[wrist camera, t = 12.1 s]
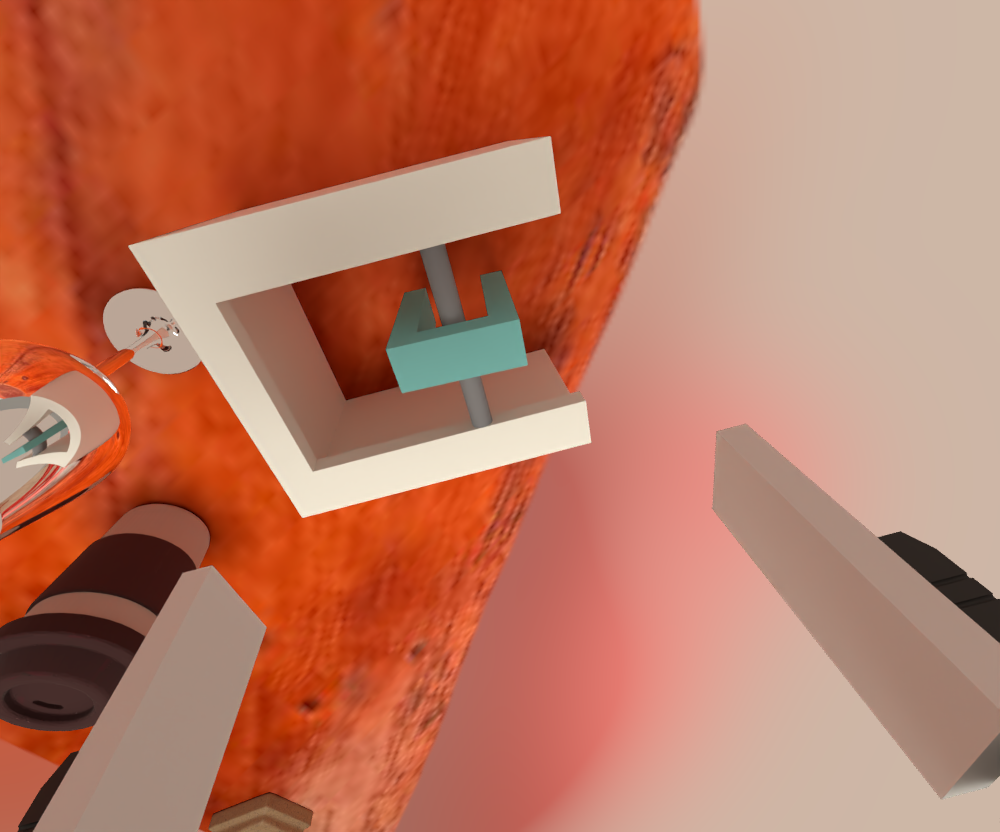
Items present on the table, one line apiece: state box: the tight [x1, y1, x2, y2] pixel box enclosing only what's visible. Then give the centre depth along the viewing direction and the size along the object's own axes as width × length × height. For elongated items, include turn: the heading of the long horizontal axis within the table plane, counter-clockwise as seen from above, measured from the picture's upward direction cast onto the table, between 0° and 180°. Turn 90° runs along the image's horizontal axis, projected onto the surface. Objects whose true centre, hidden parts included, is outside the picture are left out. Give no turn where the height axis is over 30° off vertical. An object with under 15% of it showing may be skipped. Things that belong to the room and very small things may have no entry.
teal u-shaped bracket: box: [386, 271, 528, 393], centre depth 25 cm, size 2×6×9 cm, turn 101°
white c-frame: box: [128, 136, 591, 518], centre depth 28 cm, size 16×18×12 cm
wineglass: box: [0, 288, 201, 541], centre depth 24 cm, size 8×8×18 cm
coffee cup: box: [0, 504, 210, 731], centre depth 34 cm, size 10×10×15 cm
